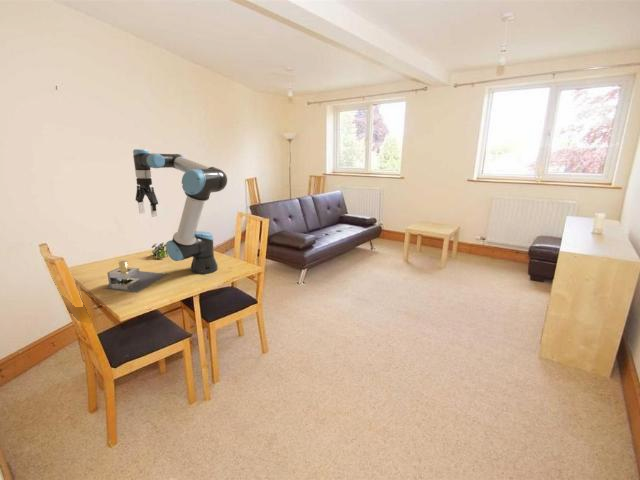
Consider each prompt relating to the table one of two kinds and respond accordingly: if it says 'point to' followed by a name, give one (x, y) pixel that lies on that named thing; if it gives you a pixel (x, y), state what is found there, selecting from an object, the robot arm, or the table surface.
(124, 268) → the pin
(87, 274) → the table surface
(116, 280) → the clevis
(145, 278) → the mat
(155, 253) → the passion flower
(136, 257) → the table surface
